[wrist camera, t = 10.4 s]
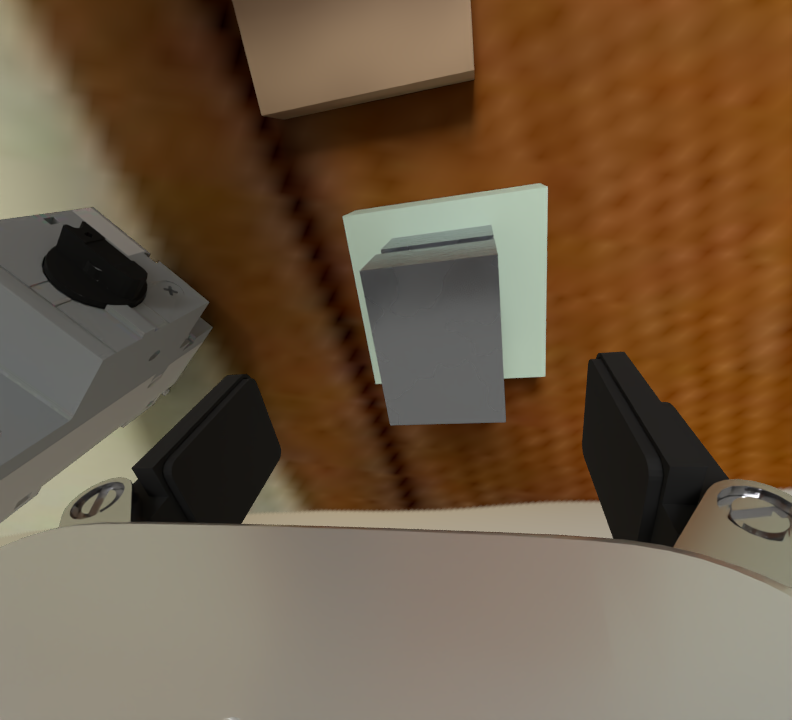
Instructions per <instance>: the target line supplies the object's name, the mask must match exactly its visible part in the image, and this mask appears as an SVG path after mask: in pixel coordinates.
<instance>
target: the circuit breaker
mask: <svg viewBox="0 0 792 720" xmlns="http://www.w3.org/2000/svg"><path fill="white" fill-rule="evenodd" d="M149 257H150V253H149V252H148V251H146V250H145V249H144V248H143V247H141V246H140V245H139V244H138V243H137V242H135V241H134V240H133V239H132V238H130V237H129V236H128V235H127V234H126V233H124V232H123V231H122V230H121V229H119V228H118V227H117V226H116V225H115V224H113V223H112V222H111V221H110V220H108V219H107V218H106V217H105V216H104V215H102V214H101V213H100V212H99V211H97V210H96V209H95V208H94V207H91V208H84V209H76V210H69V211H62V212H54V213H47V214H39V215H32V216H25V217H17V218H10V219H3V220H0V523H1V522H2V521H4V520H5V519H6V518H7V517H9V516H10V515H11V514H13V513H14V512H15V511H17V510H18V509H19V508H20V507H22V506H23V505H24V504H26V503H27V502H28V501H29V500H31V499H32V498H33V497H35V496H36V495H37V494H38V492H39V491H40V489H41V487H42V486H43V485H44V484H46V483H47V482H48V481H50V480H51V479H52V478H53V477H55V476H56V475H57V474H59V473H60V472H61V471H63V470H64V469H65V468H67V467H68V466H69V465H70V464H72V463H73V462H74V461H76V460H77V459H78V458H80V457H81V456H82V455H84V454H85V453H86V452H87V451H89V450H90V449H91V448H93V447H94V446H95V445H97V444H98V443H99V442H101V441H102V440H103V439H104V438H106V437H107V436H108V435H110V434H111V433H112V432H114V431H115V430H116V429H118V428H119V427H120V426H121V427H123V428H124V427H125V426H126V425H128V424H129V423H130V422H131V421H133V420H134V419H135V418H137V417H138V416H139V415H140V414H142V413H143V412H144V411H146V410H147V409H148V408H149V407H151V406H152V405H153V404H154V403H155V402H156V400H157V399H158V397H159V396H160V394H163V395H164V396H165V395H166V394H168V392H169V391H170V390H169V389H168V388H169V387H171V386H172V385H173V384H175V382H176V381H177V379H178V378H179V376H180V375H181V373H182V372H183V370H184V369H185V368H186V366H187V365H188V363H189V362H190V360H191V359H192V357H193V356H194V354H195V353H196V351H197V350H198V349H199V347H200V346H201V344H202V343H203V341H204V340H205V338H206V337H207V335H208V334H209V332H210V331H211V329H212V328H213V327H212V326H210V325H209V324H208V323H207V322H205V321H204V320H203V319H202V318H201V317H200V316H201V314H202V313H203V311H204V310H205V308H206V307H207V305H208V304H209V301H207V300H206V299H205V298H204V297H203V296H201V295H200V294H199V293H198V292H196V291H195V290H194V289H193V288H192V287H190V286H189V285H188V284H187V283H185V282H184V281H183V280H182V279H181V278H179V277H178V276H177V275H176V274H175V273H173V272H172V271H171V270H170V269H168V268H167V267H166V266H165V265H164V264H162V263H161V262H160V261H158V263H155V262H154V261H153V260H151V259H150V258H149Z"/></svg>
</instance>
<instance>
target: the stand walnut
mask: <svg viewBox="0 0 792 720" xmlns="http://www.w3.org/2000/svg"><path fill="white" fill-rule="evenodd" d="M232 2H233V6H234V10H235V13H236V17H237V21H238V25H239V29H240V33H241V37H242V41H243V45H244V49H245V53H246V56H247V60H248V64H249V68H250V72H251V76H252V80H253V84H254V88H255V92H256V96H257V99H258V103H259V107H260V111H261V115H262V116H266V117H271V118H277V119H282V120H285V119H290V118H294V117H299V116H304V115H309V114H313V113H318V112H323V111H328V110H333V109H337V108H342V107H347V106H352V105H356V104H361V103H366V102H371V101H375V100H380V99H385V98H390V97H394V96H399V95H404V94H409V93H413V92H418V91H423V90H428V89H433V88H437V87H442V86H447V85H452V84H456V83H461V82H466V81H471V80H474V57H473V38H472V20H471V1H470V0H232Z"/></svg>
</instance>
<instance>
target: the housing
mask: <svg viewBox="0 0 792 720" xmlns="http://www.w3.org/2000/svg"><path fill="white" fill-rule="evenodd" d="M359 272H360V277H361V282H362V287H363V292H364V297H365V302H366V307H367V312H368V317H369V322H370V327H371V332H372V337H373V342H374V347H375V352H376V357H377V362H378V367H379V372H380V377H381V382H382V387H383V392H384V397H385V402H386V407H387V412H388V417H389V422H390V425H419V424H456V423H494V422H506V414H505V393H504V372H503V351H502V331H501V310H500V289H499V268H498V253H497V248H496V244H495V239H494V235H493V230H492V226H491V225H486V226H479V227H471V228H464V229H457V230H449V231H442V232H435V233H427V234H420V235H413V236H406V237H398V238H392V239H391V240H390V241H389V242H388V243H387V244H386V245H385V246H384V247H383V248H382V249H381V254H376V255H375V256H374V257H373V258H372V259H371V260H370V261H369V262H368V263H367V264H366V265H365V266H364V267H363V268H362V269H361V270H360V271H359Z"/></svg>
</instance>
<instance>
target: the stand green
mask: <svg viewBox="0 0 792 720" xmlns="http://www.w3.org/2000/svg"><path fill="white" fill-rule="evenodd" d="M547 205H548V187H547V186H545V185H543V184H541V183H539V184H532V185H525V186H518V187H511V188H505V189H498V190H491V191H484V192H477V193H471V194H464V195H457V196H450V197H443V198H437V199H430V200H423V201H416V202H410V203H403V204H396V205H389V206H382V207H376V208H369V209H362V210H355V211H353V212H351V213H349V214H347V215H344V216H342V217H343V222H344V227H345V232H346V237H347V242H348V247H349V252H350V257H351V262H352V267H353V272H354V277H355V282H356V287H357V292H358V297H359V302H360V307H361V312H362V317H363V322H364V327H365V332H366V337H367V342H368V347H369V353H370V358H371V363H372V368H373V373H374V378H375V383H376V384H382V382H381V377H380V372H379V367H378V362H377V357H376V352H375V347H374V342H373V337H372V332H371V327H370V322H369V317H368V312H367V307H366V302H365V297H364V292H363V287H362V282H361V277H360V272H359V271H360V270H361V269H362V268H363V267H364V266H365V265H366V264H367V263H368V262H369V261H370V260H371V259H372V258H373V257H374V256H375V255H376V254H381V249H382V248H383V247H384V246H385V245H386V244H387V243H388V242H389V241H390V240H391V239H392V238H398V237H406V236H413V235H420V234H427V233H435V232H442V231H449V230H457V229H464V228H471V227H479V226H486V225H491V226H492V230H493V235H494V239H495V244H496V248H497V253H498V268H499V289H500V310H501V331H502V351H503V372H504V378H526V377H545V355H546V280H547Z"/></svg>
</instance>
